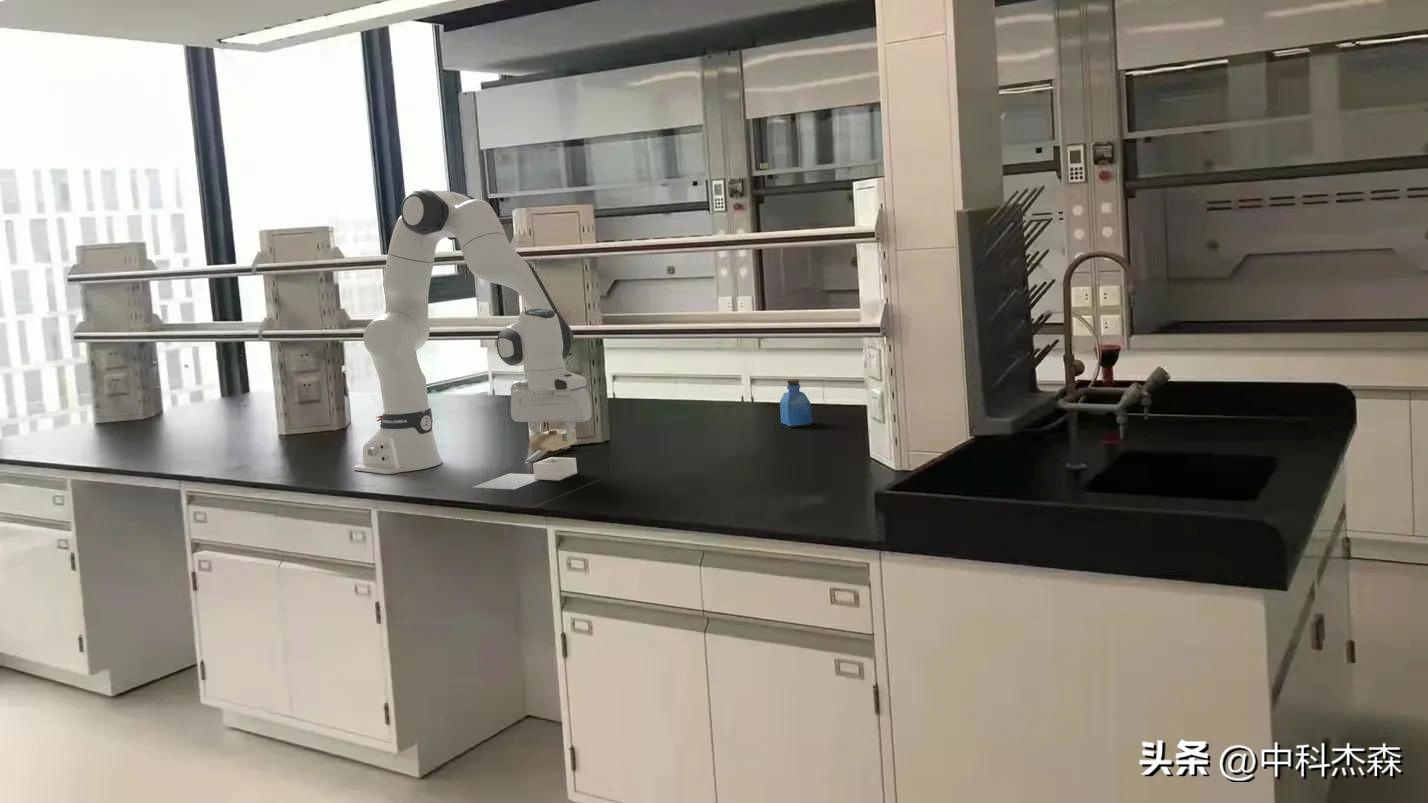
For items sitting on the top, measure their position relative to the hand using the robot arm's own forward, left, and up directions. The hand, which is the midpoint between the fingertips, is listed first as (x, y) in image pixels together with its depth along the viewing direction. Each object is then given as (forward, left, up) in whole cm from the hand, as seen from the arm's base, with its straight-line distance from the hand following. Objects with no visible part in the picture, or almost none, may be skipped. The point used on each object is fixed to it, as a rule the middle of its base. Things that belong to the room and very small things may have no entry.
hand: (553, 440), depth 273 cm
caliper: (-18, +22, -9) cm, 30 cm away
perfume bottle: (+31, +66, -9) cm, 73 cm away
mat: (-8, -6, -9) cm, 13 cm away
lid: (0, 0, -1) cm, 1 cm away
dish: (0, 0, -9) cm, 9 cm away
